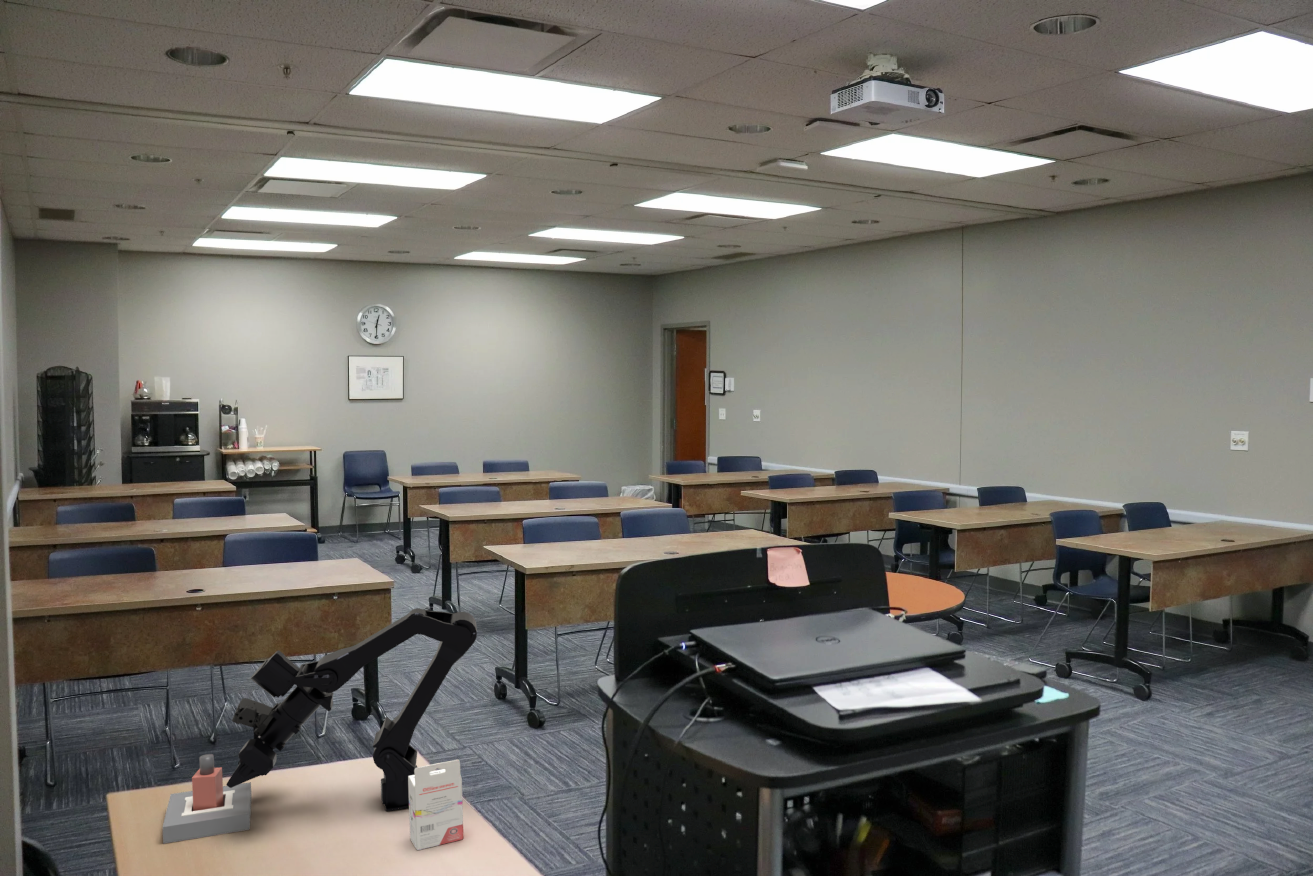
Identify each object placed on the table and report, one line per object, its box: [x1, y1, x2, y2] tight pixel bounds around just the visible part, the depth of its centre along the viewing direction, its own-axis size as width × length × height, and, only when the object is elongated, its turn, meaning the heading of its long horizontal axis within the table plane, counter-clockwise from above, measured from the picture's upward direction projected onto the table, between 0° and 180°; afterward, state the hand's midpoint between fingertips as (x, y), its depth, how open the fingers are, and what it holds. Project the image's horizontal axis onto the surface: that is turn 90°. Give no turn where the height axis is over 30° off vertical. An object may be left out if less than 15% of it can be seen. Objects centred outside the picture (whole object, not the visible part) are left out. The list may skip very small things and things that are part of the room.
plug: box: [191, 753, 224, 811], centre depth 179 cm, size 4×4×12 cm
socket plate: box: [162, 782, 252, 845], centre depth 179 cm, size 14×14×3 cm
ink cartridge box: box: [408, 759, 464, 851], centre depth 171 cm, size 9×5×15 cm, turn 118°
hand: (234, 775), depth 180 cm, fingers open, 9 cm apart
